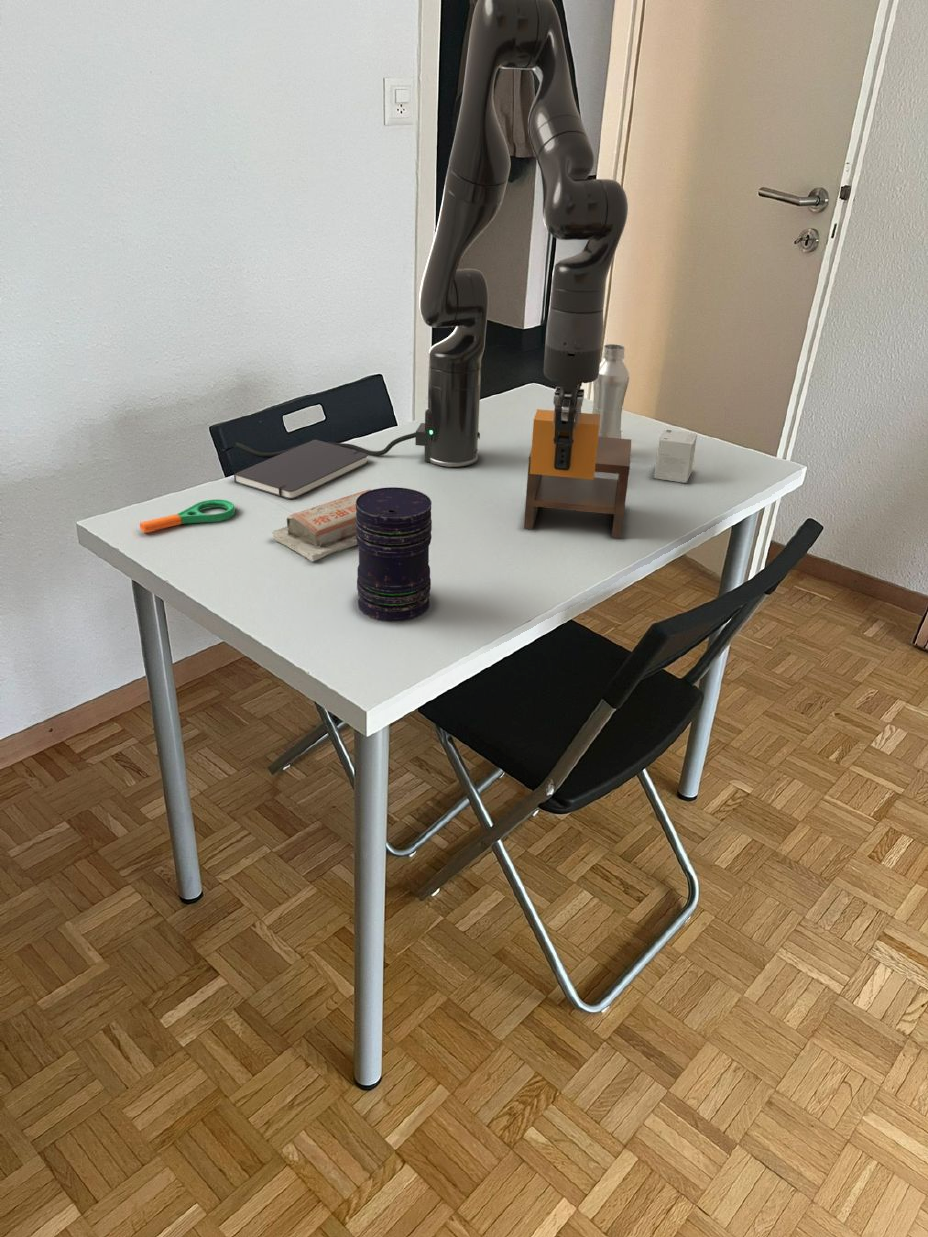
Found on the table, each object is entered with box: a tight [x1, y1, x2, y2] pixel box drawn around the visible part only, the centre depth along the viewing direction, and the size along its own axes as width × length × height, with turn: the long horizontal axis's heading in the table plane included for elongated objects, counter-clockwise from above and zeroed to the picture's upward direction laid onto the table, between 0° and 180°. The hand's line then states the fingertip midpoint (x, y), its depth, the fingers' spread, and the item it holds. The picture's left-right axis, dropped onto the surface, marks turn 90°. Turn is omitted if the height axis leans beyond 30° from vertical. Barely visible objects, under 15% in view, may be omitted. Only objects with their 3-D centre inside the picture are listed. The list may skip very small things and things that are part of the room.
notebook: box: [233, 439, 369, 500], centre depth 171 cm, size 13×2×21 cm
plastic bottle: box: [591, 343, 630, 439], centre depth 179 cm, size 6×7×20 cm
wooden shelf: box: [523, 437, 632, 540], centre depth 155 cm, size 15×12×12 cm
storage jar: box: [356, 486, 433, 623], centre depth 128 cm, size 10×10×15 cm
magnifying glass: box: [139, 498, 235, 534], centre depth 152 cm, size 15×6×2 cm, turn 131°
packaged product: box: [272, 489, 371, 563], centre depth 149 cm, size 18×5×10 cm
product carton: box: [653, 429, 698, 484], centre depth 174 cm, size 6×6×7 cm
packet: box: [530, 408, 601, 480], centre depth 138 cm, size 9×5×8 cm, turn 80°
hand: (563, 462), depth 139 cm, fingers closed on packet, 4 cm apart
